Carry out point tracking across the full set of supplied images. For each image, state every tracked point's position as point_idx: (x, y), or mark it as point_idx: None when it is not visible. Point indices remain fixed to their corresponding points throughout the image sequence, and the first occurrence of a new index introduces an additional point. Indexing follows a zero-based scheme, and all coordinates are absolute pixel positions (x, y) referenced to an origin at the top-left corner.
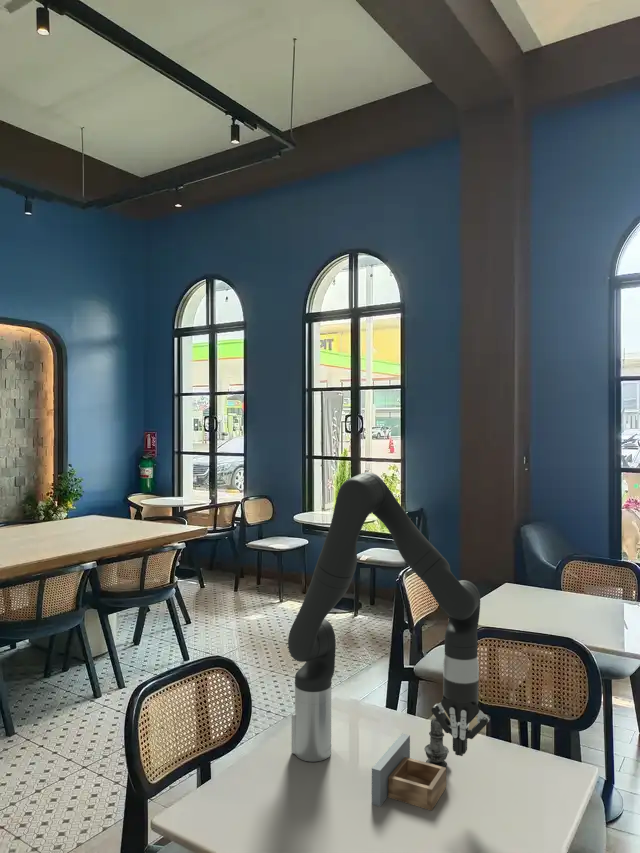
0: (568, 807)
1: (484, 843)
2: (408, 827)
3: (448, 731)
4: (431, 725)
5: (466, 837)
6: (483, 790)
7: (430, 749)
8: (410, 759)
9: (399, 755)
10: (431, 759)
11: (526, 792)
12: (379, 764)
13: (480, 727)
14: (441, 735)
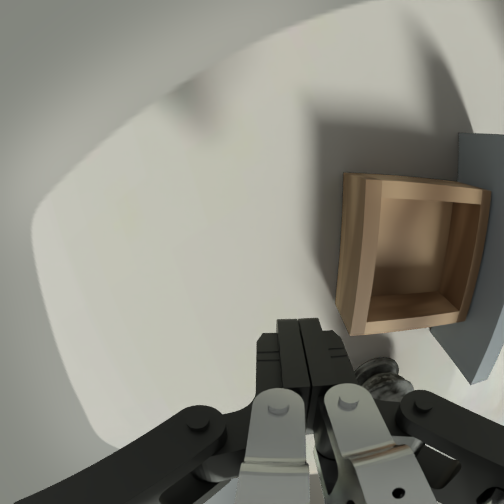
0: (69, 348)
1: (158, 108)
2: (372, 74)
3: (407, 405)
4: None
5: (209, 104)
6: (238, 339)
7: (401, 392)
8: (452, 317)
9: (487, 297)
10: (391, 373)
11: (149, 369)
12: None
13: (78, 490)
14: None
